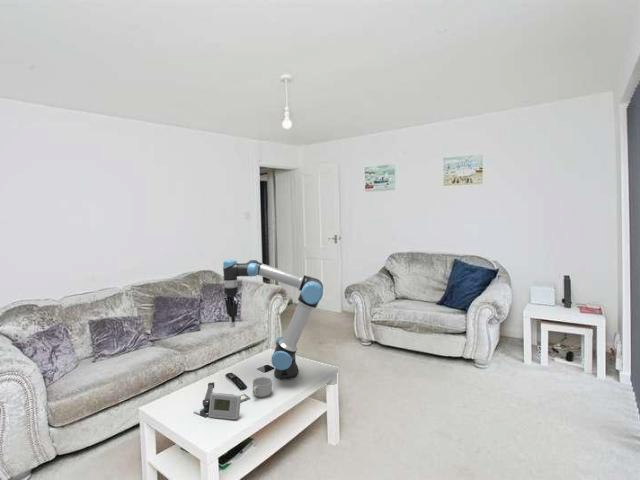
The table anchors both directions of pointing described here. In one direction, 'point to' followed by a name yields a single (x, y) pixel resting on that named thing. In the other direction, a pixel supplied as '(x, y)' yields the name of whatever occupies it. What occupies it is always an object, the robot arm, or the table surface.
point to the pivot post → (205, 411)
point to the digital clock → (224, 406)
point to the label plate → (244, 398)
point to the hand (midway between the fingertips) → (232, 327)
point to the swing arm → (208, 394)
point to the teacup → (262, 386)
